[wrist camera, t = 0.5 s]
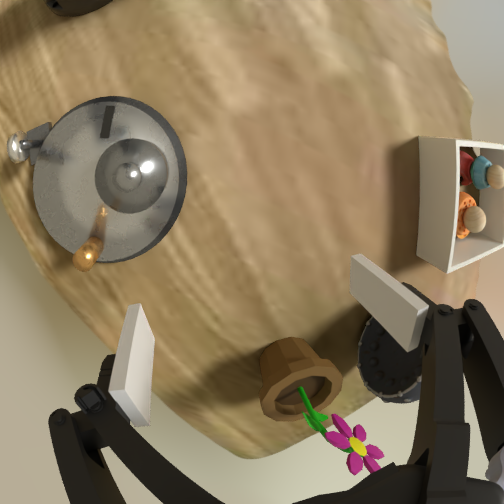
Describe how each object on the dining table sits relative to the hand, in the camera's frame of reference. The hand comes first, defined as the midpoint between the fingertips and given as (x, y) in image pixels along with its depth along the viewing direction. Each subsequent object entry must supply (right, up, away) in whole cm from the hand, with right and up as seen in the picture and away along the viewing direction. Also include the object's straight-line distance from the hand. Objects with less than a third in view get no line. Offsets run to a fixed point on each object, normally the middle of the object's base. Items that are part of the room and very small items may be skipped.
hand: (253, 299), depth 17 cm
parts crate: (+42, +15, +30) cm, 54 cm away
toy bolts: (+43, +15, +30) cm, 54 cm away
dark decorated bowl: (+26, -12, +37) cm, 47 cm away
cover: (-14, +12, +14) cm, 23 cm away
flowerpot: (+6, -17, +34) cm, 39 cm away
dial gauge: (-29, +18, +12) cm, 36 cm away
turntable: (-19, +11, +14) cm, 26 cm away
